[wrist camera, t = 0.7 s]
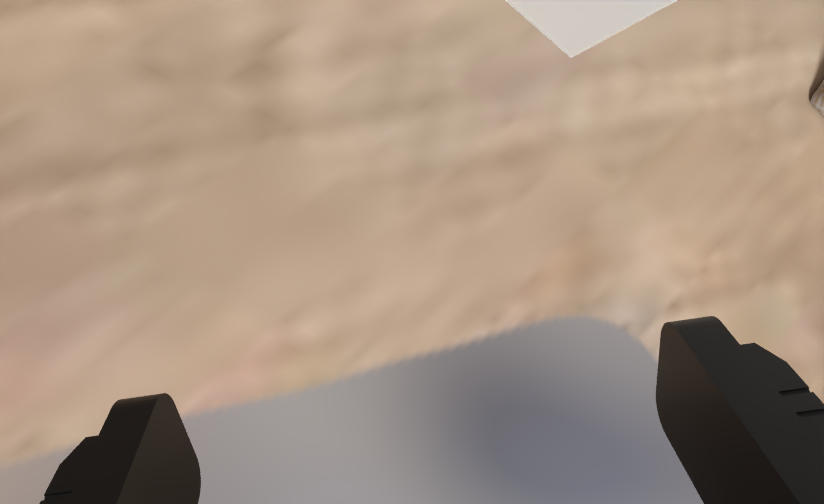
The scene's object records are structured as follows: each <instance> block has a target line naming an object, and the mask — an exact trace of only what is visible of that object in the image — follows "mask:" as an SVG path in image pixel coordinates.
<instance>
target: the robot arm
mask: <svg viewBox="0 0 824 504" xmlns="http://www.w3.org/2000/svg"><path fill="white" fill-rule="evenodd" d="M656 404H657V410H658V415H659V418H660V422H661V424H662V427H663V430H664V432H665V434H666V436H667V437H668V439H669V441H670V443H671V445H672V447H673V448H674V450H675V452H676V454H677V456H678V457H679V459H680V461H681V462H682V465H683V466H684V468H685V470H686V472H687V474H688V475H689V477H690V479H691V481H692V482H693V484H694V486H695V488H696V490H697V492H698V494H699V495H700V497H701V499H702V501H703V503H704V504H824V404H823V403H822V401H821V400H820V399H819V398H818V397H817V396H816V395H815V394H814V392H811V393H810V391H809V387H808V386H807V385H806V383H805V382H804V381H803V380H802V379H801V378H800V377H799V376H798V374H797V373H796V372H795V371H794V370H793V369H792V368H791V367H790V365H789V364H788V363H787V362H785V361H784V360H782V359H780V358H779V357H777V356H776V355H774V354H772V353H771V352H769V351H767V350H766V349H764V348H762V347H761V346H759V345H757V344H756V343H750V344H743V345H740V344H739V343H738V342H737V341H736V339H735V338H734V337H733V336H732V334H731V333H730V332H729V331H728V330H727V328H726V327H725V326H724V325H723V324H722V322H721V321H720V320H719V319H717V318H716V317H714V316H709V317H702V318H695V319H688V320H681V321H674V322H667V323H665V324H664V325H663V327H662V330H661V338H660V350H659V362H658V374H657V386H656ZM200 487H201V477H200V468H199V463H198V459H197V457H196V454H195V452H194V449H193V447H192V444H191V442H190V439H189V437H188V435H187V432H186V430H185V427H184V425H183V423H182V420H181V418H180V415H179V413H178V410H177V408H176V406H175V403H174V401H173V399H172V398H171V397H170V396H169V395H168V394H166V393H163V394H156V395H149V396H142V397H135V398H128V399H121V400H118V401H117V402H115V404H114V405H113V406H112V408H111V410H110V412H109V414H108V417H107V419H106V421H105V423H104V425H103V427H102V429H101V431H100V433H99V436H92V437H86V438H85V439H84V440H83V441H82V442H81V443H80V444H79V445H78V446H77V447H76V448H75V449H74V450H73V451H72V452H71V453H70V455H69V456H68V457H67V458H66V459H65V460H64V461H63V462H62V463H61V464H60V465H59V467H58V469H57V471H56V473H55V475H54V477H53V479H52V481H51V483H50V484H49V487H48V488H47V490H46V492H45V495H44V496H45V499H44V501H41V502H40V504H198V500H199V496H200Z"/></svg>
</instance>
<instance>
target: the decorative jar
mask: <svg viewBox="0 0 824 504" xmlns="http://www.w3.org/2000/svg"><path fill="white" fill-rule="evenodd" d="M811 104H812V105H813V106H814V107H815V108H816V109H817V111H818V112H819V113H820V114H821V115H822V116H823V117H824V80H823V81H822V83H821V84H820V86H819V87H818V89H817V90H816V91H815V93H814V94H813V96H812V98H811Z"/></svg>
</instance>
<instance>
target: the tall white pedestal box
mask: <svg viewBox="0 0 824 504" xmlns="http://www.w3.org/2000/svg"><path fill="white" fill-rule="evenodd" d="M505 1H506V2H507V3H509V4H510V5H511V6H512V7H513V8H514V9H515V10H517V11H518V12H519V13H520V14H521V15H522V16H523V17H524V18H526V19H527V20H528V21H529V22H530V23H531V24H532V25H534V26H535V27H536V28H537V29H538V30H539V31H540V32H542V33H543V34H544V35H545V36H546V37H547V38H548V39H549V40H551V41H552V42H553V43H554V44H555V45H556V46H557V47H559V48H560V49H561V50H562V51H563V52H564V53H565V54H567V55H568V56H569V57H570V58H572V57H574V56H576V55H578V54H580V53H581V52H583V51H585V50H587V49H589V48H591V47H592V46H594V45H596V44H598V43H600V42H602V41H604V40H605V39H607V38H609V37H611V36H613V35H615V34H616V33H618V32H620V31H622V30H624V29H626V28H628V27H629V26H631V25H633V24H635V23H637V22H639V21H641V20H642V19H644V18H646V17H648V16H650V15H652V14H653V13H655V12H657V11H659V10H661V9H663V8H665V7H666V6H668V5H670V4H672V3H674V2H676V1H677V0H505Z"/></svg>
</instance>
